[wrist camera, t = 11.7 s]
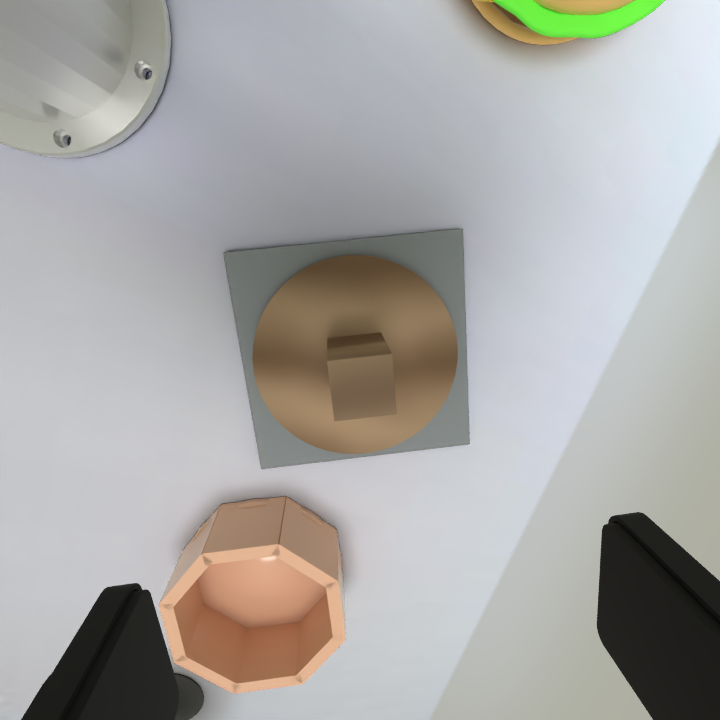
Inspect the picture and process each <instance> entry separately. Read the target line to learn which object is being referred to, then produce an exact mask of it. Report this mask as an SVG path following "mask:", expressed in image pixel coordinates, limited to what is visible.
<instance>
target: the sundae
mask: <svg viewBox="0 0 720 720" xmlns="http://www.w3.org/2000/svg"><path fill="white" fill-rule="evenodd" d="M174 675H175V678H176V682H177V685H178V690H179V703H178V709H177V713H176V716H175V719H174V720H189V719H190V718H192V717H193V716H194V715H196V714H197V713H198V712H199V710H200V709H201V707H202V706H203V698H204V696H203V693H202V691H201V689H200V687H199V686H198V685H197V684H196V683H195V682H194V681H193V680H192V679H190V678H188V677H185V676H182V675H178V674H174Z"/></svg>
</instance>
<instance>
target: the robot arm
mask: <svg viewBox="0 0 720 720" xmlns="http://www.w3.org/2000/svg"><path fill="white" fill-rule="evenodd" d="M170 49H171V33H170V22H169V12H168V9H167V5H166V1H165V0H0V143H2V144H4V145H7V146H9V147H11V148H14V149H17V150H21V151H24V152H28V153H31V154H35V155H41V156H48V157H54V158H74V157H84V156H88V155H92V154H96V153H100V152H103V151H105V150H107V149H109V148H111V147H113V146H115V145H117V144H119V143H121V142H123V141H124V140H125V139H126V138H128V137H129V136H130V135H131V134H132V133H134V132H135V131H136V130H137V129H138V128H139V127H140V126H141V125H142V124H143V122H144V121H145V120H146V118H147V117H148V116H149V115H150V113H151V112H152V111H153V109H154V107H155V105H156V103H157V101H158V99H159V97H160V95H161V93H162V91H163V88H164V84H165V80H166V76H167V72H168V69H169V63H170ZM148 71H152V76H151V77H150V79H147V80H146V77H145V75H146V73H147V72H148ZM69 137H71V143H70V145H68V143H67V140H68V138H69ZM601 542H602V543H601V559H600V579H599V596H598V614H597V616H598V617H597V629H598V633H599V637H600V639H601V641H602V643H603V645H604V647H605V648H606V650H607V651H608V653H609V654H610V656H611V657H612V659H613V660H614V662H615V663H616V665H617V666H618V668H619V669H620V671H621V672H622V674H623V675H624V677H625V678H626V680H627V681H628V683H629V684H630V685H631V687H632V689H633V690H634V692H635V693H636V695H637V696H638V698H639V699H640V700H641V702H642V704H643V705H644V707H645V708H646V710H647V711H648V713H649V714H650V715H651V717H652V718H653V720H720V581H719V580H718V579H717V578H716V577H714V576H713V575H712V574H711V573H710V572H709V571H708V570H707V569H705V568H704V567H703V566H702V565H701V564H700V563H699V562H698V561H697V560H695V559H694V558H693V557H692V556H691V555H690V554H689V553H688V552H686V551H685V550H684V549H683V548H682V547H681V546H680V545H679V544H677V543H676V542H675V541H674V540H673V539H672V538H671V537H670V536H669V535H667V534H666V533H665V532H664V531H663V530H662V529H661V528H660V527H659V526H657V525H656V524H655V523H654V522H653V521H652V520H651V519H650V518H648V517H647V516H646V515H645V514H643V513H639V512H637V513H629V514H622V515H615V516H612V517H611V518H610V519H609V523H608V524H606V525H604V526H603V529H602V541H601ZM178 703H179V690H178V685H177V682H176V678H175V675H174V672H173V668H172V665H171V661H170V658H169V655H168V651H167V648H166V644H165V641H164V638H163V634H162V631H161V627H160V624H159V621H158V617H157V614H156V610H155V607H154V604H153V600H152V597H151V594H150V592H149V591H148V590H142V588H141V586H140V585H139V584H138V583H133V584H126V585H119V586H112V587H107V588H105V589H104V590H103V592H102V593H101V594H100V596H99V598H98V599H97V601H96V602H95V604H94V606H93V607H92V609H91V611H90V612H89V614H88V616H87V617H86V619H85V620H84V622H83V624H82V625H81V627H80V629H79V630H78V632H77V634H76V635H75V637H74V638H73V640H72V642H71V643H70V645H69V647H68V648H67V650H66V652H65V653H64V655H63V656H62V658H61V660H60V661H59V663H58V665H57V666H56V668H55V669H54V671H53V673H52V674H51V675H50V676H49V677H48V679H47V680H46V681H45V682H44V684H43V685H42V687H41V688H40V690H39V692H38V693H37V695H36V696H35V698H34V700H33V701H32V703H31V705H30V706H29V708H28V709H27V711H26V713H25V714H24V716H23V718H22V719H21V720H174V719H175V716H176V713H177V709H178Z"/></svg>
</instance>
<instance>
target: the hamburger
mask: <svg viewBox="0 0 720 720" xmlns="http://www.w3.org/2000/svg"><path fill="white" fill-rule="evenodd" d="M664 1H665V0H472V2H473V4H474V5H475V6H476V7H477V9H478V10H479V11H480V13H481V14H482V15H483V17H484V18H485V19H486V20H487V21H488V22H490V23H491V24H492V25H493V26H494V27H495V28H496V29H497V30H499V31H501V32H502V33H504V34H506V35H507V36H509V37H511V38H513V39H516V40H519V41H522V42H525V43H529V44H537V45H550V44H560V43H564V42H567V41H570V40H574V39H577V38H599V37H604V36H607V35H610V34H613V33H616V32H618V31H620V30H622V29H624V28H626V27H628V26H630V25H632V24H634V23H636V22H637V21H639V20H641V19H643V18H644V17H646V16H647V15H649V14H650V13H652V12H653V11H654V10H655V9H656V8H658V7H659V6H660V5H661V4H662V3H663V2H664Z"/></svg>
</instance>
